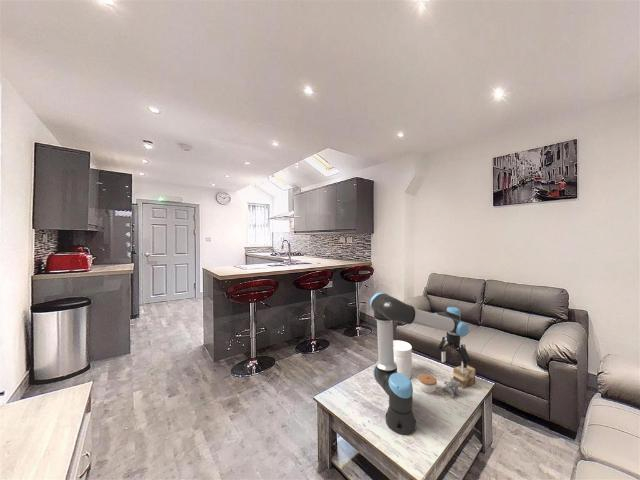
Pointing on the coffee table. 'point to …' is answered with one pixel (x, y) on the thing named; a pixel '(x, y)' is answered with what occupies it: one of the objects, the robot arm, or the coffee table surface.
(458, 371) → the light wooden block
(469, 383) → the tower base
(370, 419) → the coffee table surface
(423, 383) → the lidded jar
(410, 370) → the canister
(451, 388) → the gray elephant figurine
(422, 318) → the robot arm
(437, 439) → the coffee table surface
